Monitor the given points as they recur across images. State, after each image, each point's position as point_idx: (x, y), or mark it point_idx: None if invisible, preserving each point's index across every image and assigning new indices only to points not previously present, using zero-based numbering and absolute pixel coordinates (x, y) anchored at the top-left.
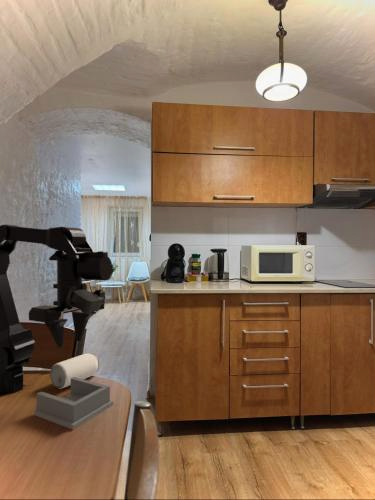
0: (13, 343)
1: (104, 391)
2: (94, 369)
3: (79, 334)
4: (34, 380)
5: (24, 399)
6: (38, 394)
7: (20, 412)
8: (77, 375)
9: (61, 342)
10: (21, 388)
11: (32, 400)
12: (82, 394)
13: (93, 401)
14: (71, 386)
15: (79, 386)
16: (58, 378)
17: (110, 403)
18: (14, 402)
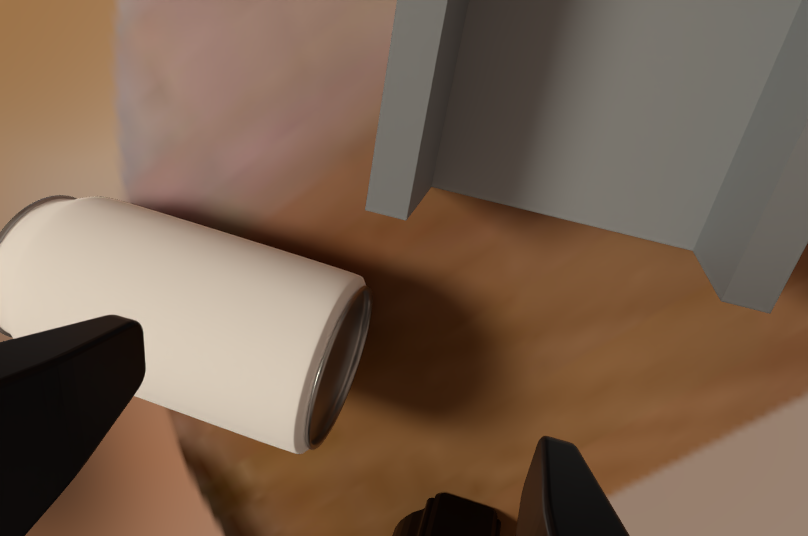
0: None
1: None
2: (106, 200)
3: (42, 403)
4: (325, 492)
5: (551, 420)
6: (780, 290)
7: (718, 351)
8: (257, 251)
9: (601, 512)
10: (449, 500)
11: (551, 373)
12: (454, 62)
13: None
14: (423, 190)
15: (435, 105)
16: (332, 357)
17: None
18: (600, 449)
